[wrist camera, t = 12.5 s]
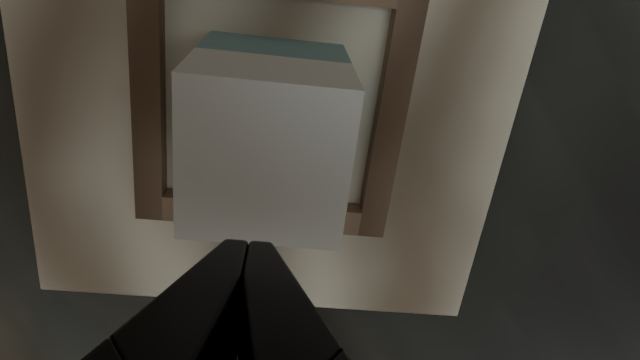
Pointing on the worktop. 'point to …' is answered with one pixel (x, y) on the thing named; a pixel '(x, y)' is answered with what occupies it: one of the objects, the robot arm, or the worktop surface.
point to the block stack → (264, 140)
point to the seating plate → (370, 158)
